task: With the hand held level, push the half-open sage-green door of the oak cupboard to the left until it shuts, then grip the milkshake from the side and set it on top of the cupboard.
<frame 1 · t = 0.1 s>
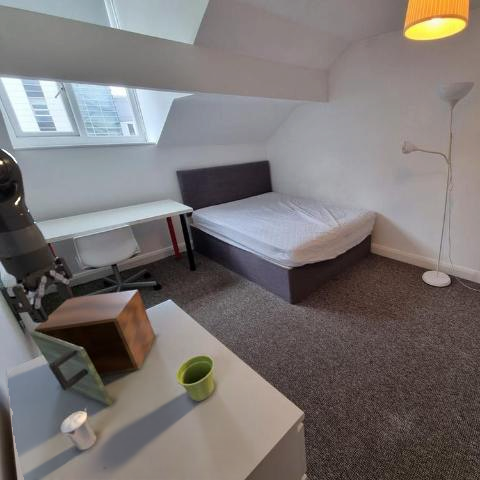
hand: (56, 309, 63), 30 cm above the table, tool pointing down, fingers open, 8 cm apart
plant pot: (202, 391, 75), on the table
cupboard: (114, 357, 87), on the table
cupboard door: (60, 376, 69), point 10 cm above the table, hinge at 30.0°
milkshake: (90, 441, 64), on the table
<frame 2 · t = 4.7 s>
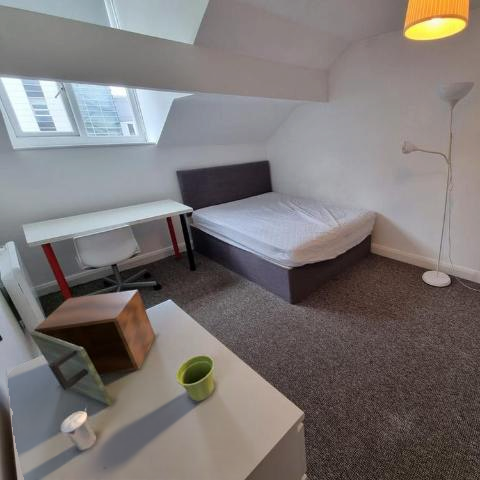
nothing on the table moved.
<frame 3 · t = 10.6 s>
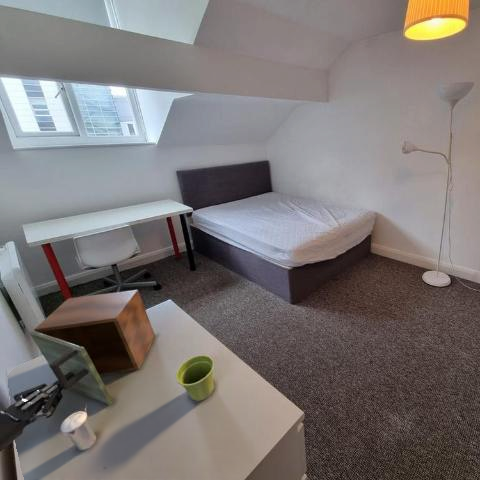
hand: (73, 375, 72), 8 cm above the table, tool horizontal, fingers closed
cupboard door: (61, 376, 69), point 10 cm above the table, hinge at 29.7°, touching gripper
everything else where it was.
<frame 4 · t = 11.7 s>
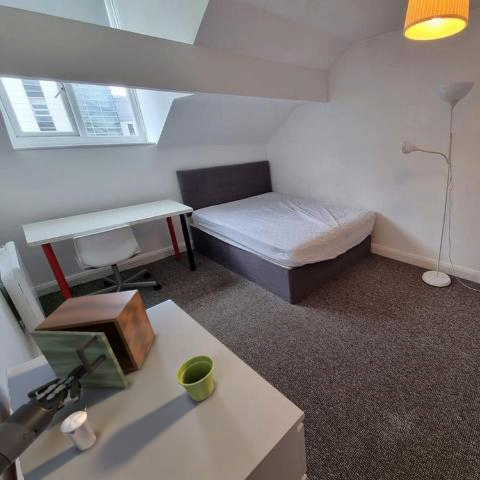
hand: (84, 367, 74), 8 cm above the table, tool horizontal, fingers closed
cupboard door: (73, 368, 71), point 10 cm above the table, hinge at 14.8°, touching gripper
everything else where it was.
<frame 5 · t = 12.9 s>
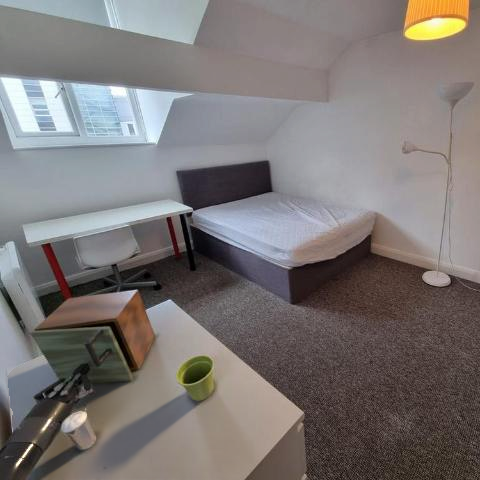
hand: (85, 365, 75), 8 cm above the table, tool horizontal, fingers closed
cupboard door: (77, 364, 72), point 10 cm above the table, hinge at 8.4°
everything else where it was.
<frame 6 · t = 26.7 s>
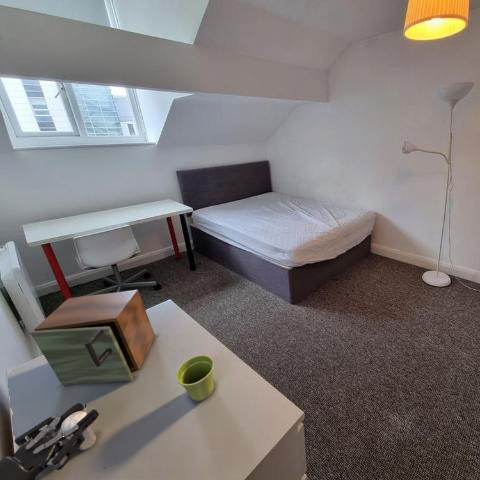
hand: (88, 408, 63), 8 cm above the table, tool horizontal, fingers closed on milkshake, 4 cm apart
milkshake: (90, 441, 64), on the table, touching gripper
everything else where it was.
when the fingers open (28 cm above the table, at t = 37.0 s): milkshake stays where it is, resting on cupboard.
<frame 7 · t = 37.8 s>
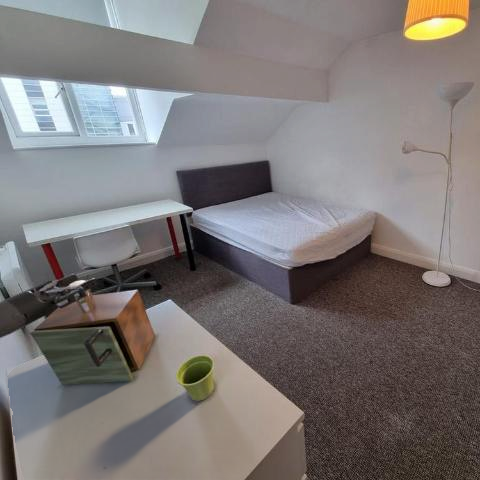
hand: (85, 278, 77), 29 cm above the table, tool horizontal, fingers open, 8 cm apart
milkshake: (91, 308, 79), point 20 cm above the table, touching cupboard
everything else where it was.
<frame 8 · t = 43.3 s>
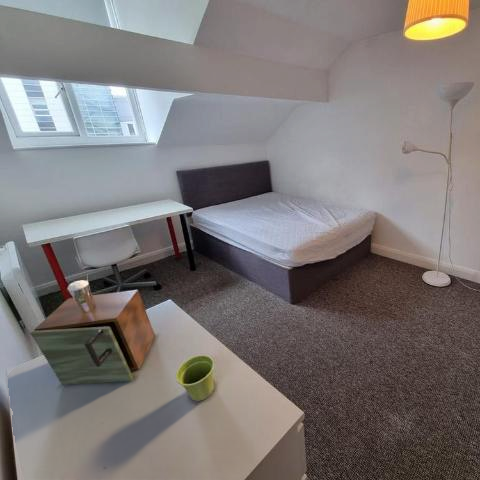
nothing on the table moved.
at the end: cupboard door at +8° (first picture: +30°); milkshake inside the target area on the cupboard (0.2 cm from its centre), point 19.8 cm above the cupboard's base; milkshake tilted 0° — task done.
